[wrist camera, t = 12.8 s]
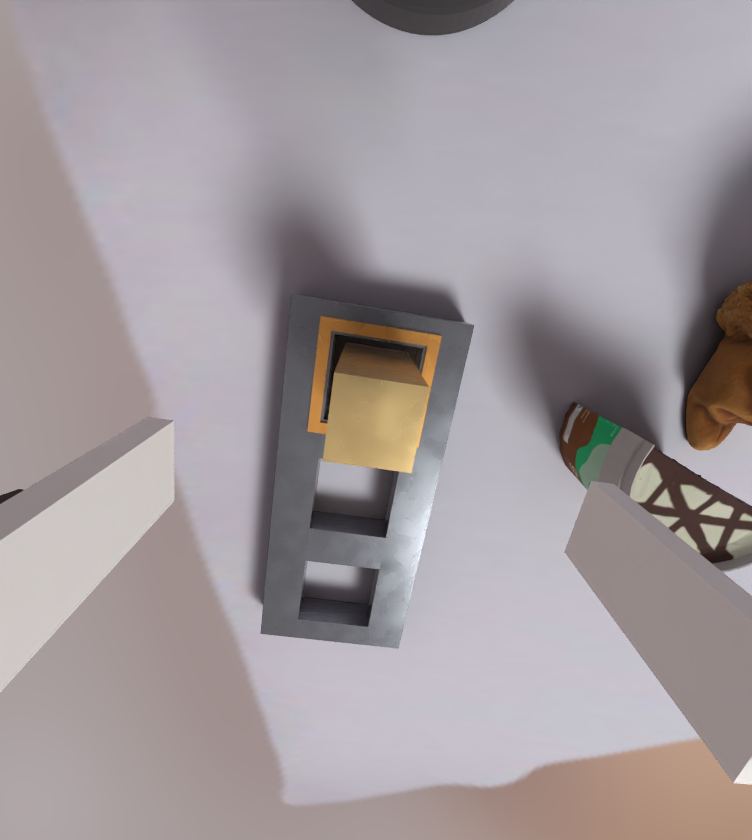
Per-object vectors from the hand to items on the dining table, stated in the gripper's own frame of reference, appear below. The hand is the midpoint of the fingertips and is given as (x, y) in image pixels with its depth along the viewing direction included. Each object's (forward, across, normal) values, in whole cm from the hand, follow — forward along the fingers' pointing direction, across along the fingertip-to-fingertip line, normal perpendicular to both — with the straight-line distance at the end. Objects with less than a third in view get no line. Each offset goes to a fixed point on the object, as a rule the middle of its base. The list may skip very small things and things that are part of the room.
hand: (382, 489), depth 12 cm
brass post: (+18, 0, 0) cm, 18 cm away
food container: (+18, +19, -4) cm, 26 cm away
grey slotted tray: (+18, 0, -9) cm, 20 cm away
